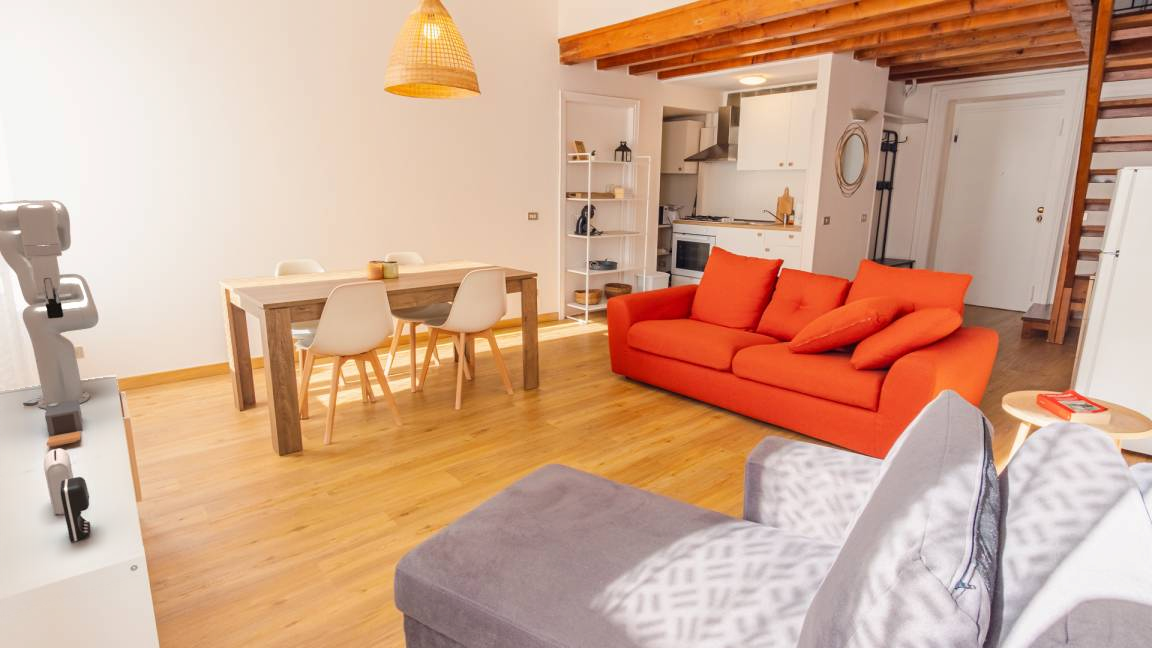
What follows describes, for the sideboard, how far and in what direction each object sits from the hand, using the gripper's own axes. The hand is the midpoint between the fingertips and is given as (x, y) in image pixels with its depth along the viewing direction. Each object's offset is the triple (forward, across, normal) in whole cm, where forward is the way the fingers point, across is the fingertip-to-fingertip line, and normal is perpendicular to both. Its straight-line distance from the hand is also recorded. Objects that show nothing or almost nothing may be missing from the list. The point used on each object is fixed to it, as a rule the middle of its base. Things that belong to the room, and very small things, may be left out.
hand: (56, 317), depth 170 cm
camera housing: (+31, +6, -2) cm, 32 cm away
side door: (+30, +12, -2) cm, 32 cm away
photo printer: (+31, +54, -2) cm, 62 cm away
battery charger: (+31, +70, +2) cm, 77 cm away
